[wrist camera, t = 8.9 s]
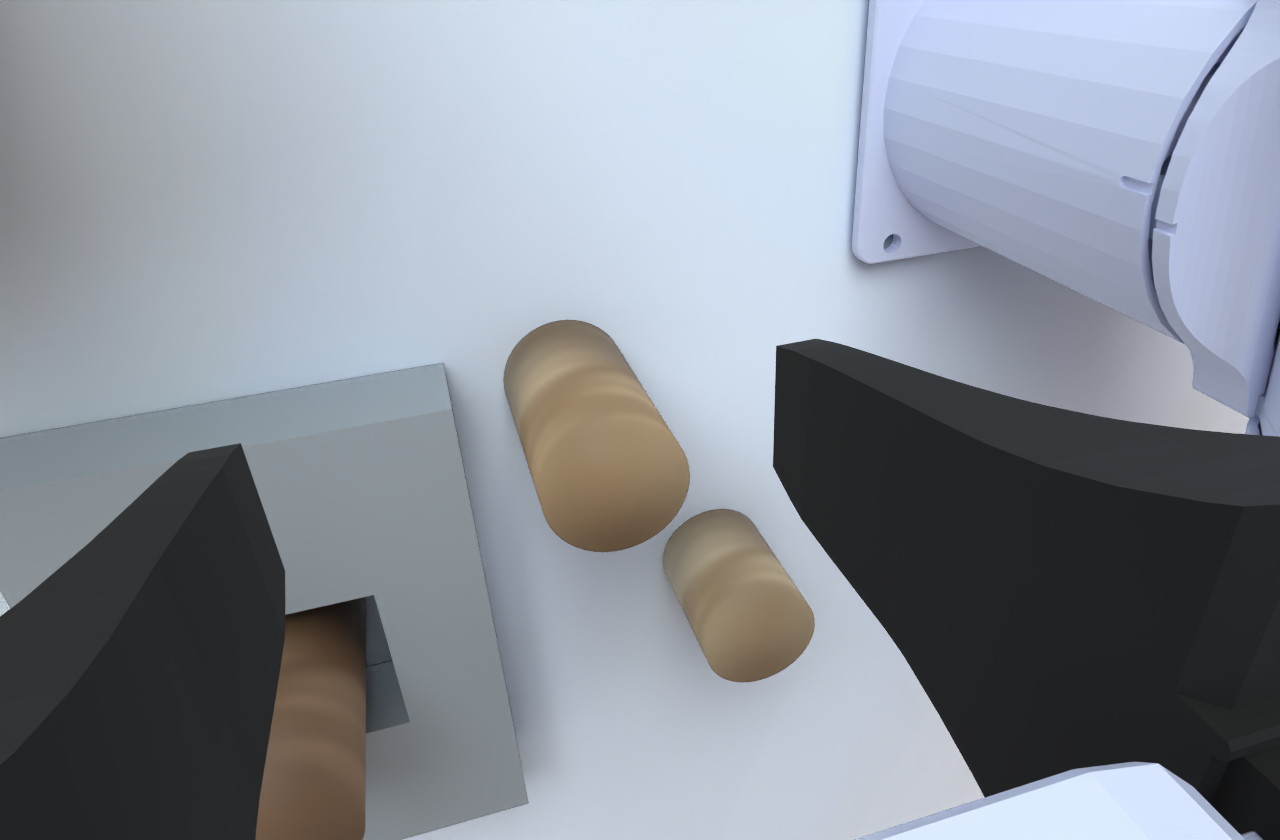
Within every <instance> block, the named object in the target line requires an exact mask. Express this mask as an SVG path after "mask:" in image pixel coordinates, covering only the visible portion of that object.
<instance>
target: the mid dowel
mask: <svg viewBox="0 0 1280 840" xmlns="http://www.w3.org/2000/svg"><path fill="white" fill-rule="evenodd" d="M504 389H505V393H506V397H507V400H508V403H509V406H510V409H511V413H512V416H513V419H514V422H515V425H516V428H517V432H518V435H519V438H520V441H521V444H522V447H523V451H524V454H525V457H526V460H527V463H528V466H529V469H530V473H531V476H532V479H533V482H534V485H535V488H536V492H537V495H538V498H539V501H540V504H541V507H542V511H543V514H544V516H545V519H546V521H547V523H548V524H549V526H550V528H551V529H552V530H553V531H554V532H555V534H556V535H558V536H559V537H560V538H561V539H562V540H564V541H565V542H567V543H569V544H570V545H573V546H575V547H577V548H581V549H584V550H588V551H595V552H611V551H618V550H623V549H627V548H630V547H633V546H636V545H638V544H641V543H643V542H645V541H646V540H648V539H650V538H652V537H653V536H655V535H656V534H658V533H659V532H660V531H661V530H663V529H664V528H665V527H666V526H667V525H668V524H669V523H670V522H671V521H672V519H673V518H674V517H675V516H676V514H677V513H678V511H679V510H680V508H681V507H682V504H683V502H684V500H685V498H686V495H687V492H688V487H689V479H690V473H689V465H688V461H687V458H686V456H685V454H684V451H683V450H682V448H681V447H680V445H679V443H678V442H677V440H676V439H675V437H674V436H673V434H672V432H671V431H670V429H669V428H668V426H667V425H666V423H665V421H664V420H663V418H662V417H661V415H660V413H659V412H658V410H657V409H656V407H655V406H654V404H653V402H652V401H651V399H650V398H649V396H648V394H647V393H646V391H645V390H644V388H643V387H642V385H641V383H640V382H639V380H638V379H637V377H636V376H635V374H634V372H633V371H632V369H631V368H630V366H629V364H628V363H627V361H626V360H625V358H624V357H623V355H622V353H621V352H620V350H619V349H618V347H617V346H616V344H615V342H614V341H613V340H612V339H611V338H610V336H609V335H608V334H606V333H605V332H604V331H603V330H601V329H600V328H598V327H596V326H594V325H592V324H589V323H586V322H582V321H576V320H562V321H555V322H551V323H548V324H545V325H542V326H540V327H538V328H536V329H534V330H533V331H531V332H530V333H528V334H527V335H526V336H525V337H524V338H522V339H521V341H520V342H519V343H518V344H517V345H516V346H515V348H514V349H513V351H512V352H511V354H510V356H509V358H508V360H507V363H506V366H505V371H504Z"/></svg>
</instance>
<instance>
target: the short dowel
mask: <svg viewBox="0 0 1280 840" xmlns="http://www.w3.org/2000/svg"><path fill="white" fill-rule="evenodd" d="M663 568H664V571H665V574H666V576H667V578H668V580H669V582H670V584H671V586H672V588H673V590H674V592H675V594H676V597H677V599H678V601H679V603H680V605H681V607H682V609H683V611H684V613H685V615H686V617H687V619H688V621H689V623H690V626H691V628H692V630H693V632H694V634H695V636H696V638H697V640H698V642H699V644H700V646H701V648H702V650H703V652H704V655H705V657H706V659H707V661H708V663H709V665H710V667H711V668H712V670H713V671H714V672H715V673H716V674H717V675H719V676H720V677H722V678H724V679H727V680H730V681H734V682H752V681H757V680H761V679H765V678H768V677H770V676H772V675H775V674H776V673H778V672H780V671H782V670H783V669H785V668H787V667H788V666H789V665H790V664H792V663H793V662H794V661H795V660H796V659H797V658H798V657H799V656H800V655H801V654H802V653H803V651H804V650H805V649H806V647H807V645H808V644H809V642H810V640H811V638H812V635H813V631H814V625H815V624H814V615H813V612H812V610H811V608H810V606H809V605H808V603H807V602H806V600H805V599H804V597H803V596H802V595H801V593H800V592H799V590H798V589H797V587H796V586H795V584H794V583H793V581H792V580H791V578H790V577H789V575H788V574H787V572H786V571H785V569H784V568H783V566H782V565H781V564H780V562H779V561H778V559H777V558H776V556H775V555H774V553H773V552H772V550H771V549H770V547H769V546H768V544H767V543H766V541H765V540H764V538H763V537H762V535H761V534H760V533H759V531H758V530H757V528H756V527H755V525H754V524H753V522H752V521H751V520H750V519H749V518H748V517H747V516H745V515H744V514H742V513H740V512H737V511H734V510H729V509H716V510H710V511H707V512H703V513H701V514H698V515H696V516H694V517H692V518H691V519H689V520H687V521H686V522H685V523H683V524H682V525H681V526H680V527H679V528H678V529H677V530H676V531H675V532H674V533H673V535H672V536H671V537H670V539H669V540H668V542H667V544H666V547H665V550H664V554H663Z"/></svg>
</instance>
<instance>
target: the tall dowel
mask: <svg viewBox="0 0 1280 840" xmlns="http://www.w3.org/2000/svg"><path fill="white" fill-rule="evenodd" d="M365 802H366V604H365V600H364V598H363V597H362V598H358V599H353V600H349V601H344V602H340V603H336V604H331V605H327V606H322V607H318V608H313V609H309V610H304V611H300V612H295V613H291V614H286V615H285V640H284V647H283V654H282V661H281V667H280V674H279V681H278V687H277V694H276V700H275V706H274V712H273V718H272V724H271V731H270V737H269V743H268V749H267V755H266V762H265V768H264V774H263V780H262V786H261V793H260V800H259V809H258V818H257V827H256V840H363V837H364V833H365Z"/></svg>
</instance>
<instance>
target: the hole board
mask: <svg viewBox="0 0 1280 840" xmlns="http://www.w3.org/2000/svg"><path fill="white" fill-rule="evenodd" d="M239 443H241V445H242V448H243V451H244V454H245V457H246V460H247V462H248V465H249V468H250V471H251V474H252V477H253V480H254V483H255V485H256V488H257V491H258V494H259V497H260V500H261V503H262V506H263V508H264V511H265V514H266V517H267V520H268V523H269V526H270V529H271V532H272V534H273V537H274V540H275V543H276V546H277V549H278V552H279V555H280V557H281V560H282V563H283V566H284V569H285V615H286V614H291V613H295V612H300V611H304V610H309V609H313V608H318V607H322V606H327V605H331V604H336V603H340V602H344V601H349V600H353V599H358V598H362V597H367V596H371V595H374V597H375V601H376V604H377V608H378V611H379V615H380V619H381V622H382V626H383V629H384V633H385V636H386V640H387V643H388V647H389V650H390V654H391V657H392V661H390V662H386V663H382V664H378V665H374V666H369V667H366V802H365V833H364V837H363V840H402V839H405V838H409V837H412V836H416V835H419V834H423V833H426V832H430V831H433V830H437V829H440V828H444V827H447V826H451V825H454V824H458V823H461V822H465V821H468V820H472V819H475V818H479V817H482V816H486V815H489V814H493V813H496V812H500V811H503V810H507V809H510V808H514V807H517V806H521V805H524V804H528V798H527V792H526V787H525V782H524V777H523V772H522V766H521V761H520V756H519V751H518V746H517V741H516V735H515V730H514V725H513V720H512V715H511V710H510V704H509V699H508V694H507V689H506V684H505V679H504V674H503V668H502V663H501V658H500V653H499V648H498V643H497V638H496V632H495V627H494V622H493V617H492V612H491V607H490V602H489V596H488V591H487V586H486V581H485V576H484V571H483V565H482V560H481V555H480V550H479V545H478V540H477V535H476V529H475V524H474V519H473V514H472V509H471V504H470V499H469V493H468V488H467V483H466V478H465V473H464V468H463V463H462V457H461V452H460V447H459V442H458V437H457V432H456V426H455V421H454V416H453V411H452V406H451V401H450V396H449V390H448V385H447V380H446V375H445V370H444V365H443V363H439V364H434V365H428V366H422V367H416V368H410V369H404V370H398V371H392V372H387V373H381V374H375V375H369V376H363V377H357V378H351V379H345V380H340V381H334V382H328V383H322V384H316V385H310V386H304V387H298V388H292V389H287V390H281V391H275V392H269V393H263V394H257V395H251V396H245V397H240V398H234V399H228V400H222V401H216V402H210V403H204V404H198V405H193V406H187V407H181V408H175V409H169V410H163V411H157V412H151V413H146V414H140V415H134V416H128V417H122V418H116V419H110V420H104V421H99V422H93V423H87V424H81V425H75V426H69V427H63V428H57V429H51V430H46V431H40V432H34V433H28V434H22V435H16V436H10V437H4V438H0V591H1V593H2V595H3V596H4V598H5V600H6V602H7V603H8V605H9V607H10V609H11V608H12V607H13V606H15V605H16V604H17V603H19V602H20V601H21V600H22V599H24V598H25V597H26V596H27V595H28V594H29V593H31V592H32V591H33V590H34V589H35V588H36V587H38V586H39V585H40V584H41V583H42V582H44V581H45V580H46V579H47V578H48V577H49V576H51V575H52V574H53V573H54V572H55V571H57V570H58V569H59V568H60V567H61V566H62V565H64V564H65V563H66V562H67V561H68V560H69V559H71V558H72V557H73V556H74V555H75V554H77V553H78V552H79V551H80V550H81V549H82V548H84V547H85V546H86V545H87V544H88V543H89V542H90V541H91V540H93V539H94V538H95V537H96V536H97V535H98V534H99V533H100V532H101V531H102V530H103V529H104V528H106V527H107V526H108V525H109V524H110V523H111V522H112V521H113V520H114V519H115V518H116V517H117V516H118V515H120V514H121V513H122V512H123V511H124V510H125V509H126V508H127V507H128V506H129V505H130V504H131V503H132V502H133V501H135V500H136V499H137V498H138V497H139V496H140V495H141V494H142V493H143V492H144V491H145V490H146V489H147V488H148V487H149V486H150V485H151V484H153V483H154V482H155V481H156V480H157V479H158V478H159V477H160V476H161V475H162V474H163V473H164V472H165V471H167V470H168V469H169V468H170V467H171V466H172V465H173V464H175V463H176V462H177V461H178V460H179V459H181V458H182V457H183V456H185V455H186V454H187V453H189V452H194V451H200V450H205V449H211V448H216V447H222V446H227V445H233V444H239Z"/></svg>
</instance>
